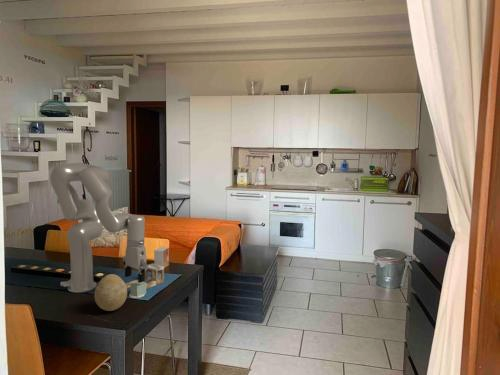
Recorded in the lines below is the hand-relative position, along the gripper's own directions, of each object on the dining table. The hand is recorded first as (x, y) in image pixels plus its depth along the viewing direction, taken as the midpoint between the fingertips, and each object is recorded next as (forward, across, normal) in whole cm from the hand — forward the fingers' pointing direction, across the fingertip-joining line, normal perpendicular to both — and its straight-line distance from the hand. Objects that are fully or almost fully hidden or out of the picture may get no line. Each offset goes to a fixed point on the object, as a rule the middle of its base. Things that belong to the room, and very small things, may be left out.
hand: (134, 279), depth 165 cm
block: (+7, -2, -1) cm, 7 cm away
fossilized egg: (+8, -6, +15) cm, 18 cm away
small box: (+8, +22, -35) cm, 42 cm away
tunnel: (+8, +6, -10) cm, 14 cm away
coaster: (+7, -1, 0) cm, 8 cm away
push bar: (+8, +8, -16) cm, 19 cm away
